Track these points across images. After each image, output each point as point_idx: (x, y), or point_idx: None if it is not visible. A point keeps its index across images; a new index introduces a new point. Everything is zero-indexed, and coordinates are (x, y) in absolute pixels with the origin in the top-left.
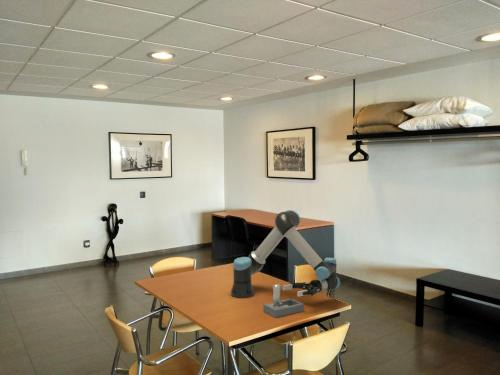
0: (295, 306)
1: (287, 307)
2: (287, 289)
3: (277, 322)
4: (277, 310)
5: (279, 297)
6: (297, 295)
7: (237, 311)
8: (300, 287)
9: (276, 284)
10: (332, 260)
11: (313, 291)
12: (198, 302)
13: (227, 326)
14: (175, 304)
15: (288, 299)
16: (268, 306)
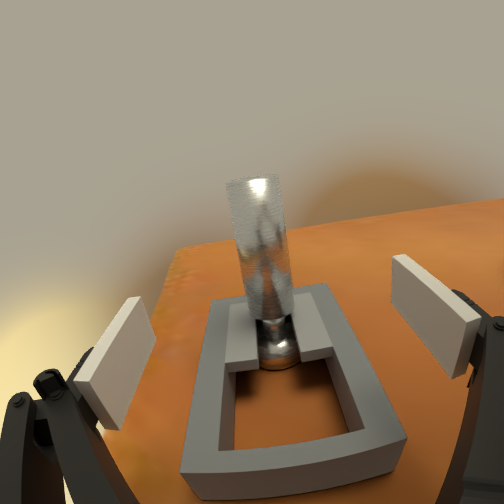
0: (194, 398)
1: (207, 348)
2: (415, 327)
3: (177, 325)
4: (211, 307)
5: (241, 269)
6: (150, 331)
7: (361, 264)
8: (449, 479)
9: (260, 178)
10: None
11: (9, 434)
12: (451, 223)
13: None
14: (433, 208)
15: (383, 410)
16: None
